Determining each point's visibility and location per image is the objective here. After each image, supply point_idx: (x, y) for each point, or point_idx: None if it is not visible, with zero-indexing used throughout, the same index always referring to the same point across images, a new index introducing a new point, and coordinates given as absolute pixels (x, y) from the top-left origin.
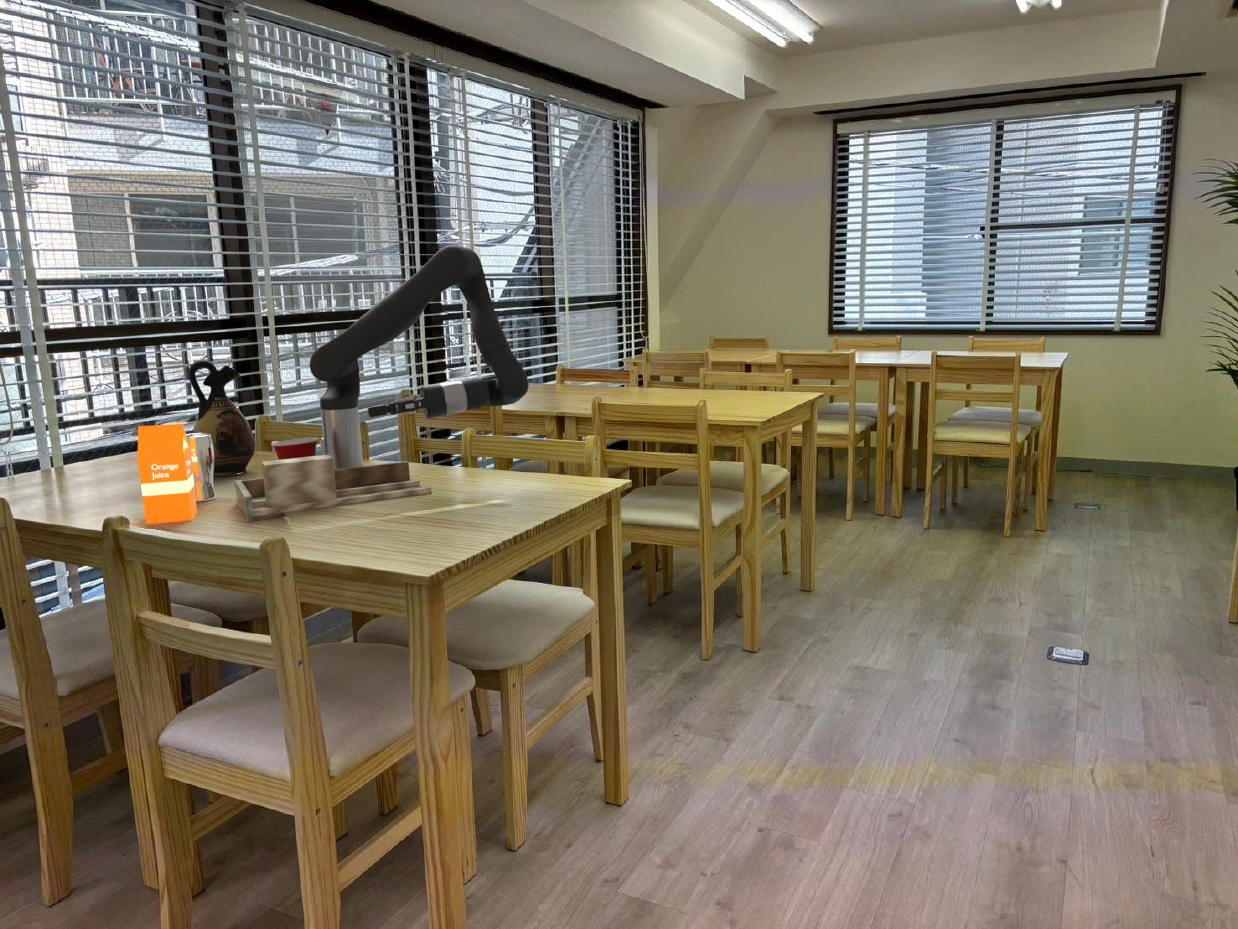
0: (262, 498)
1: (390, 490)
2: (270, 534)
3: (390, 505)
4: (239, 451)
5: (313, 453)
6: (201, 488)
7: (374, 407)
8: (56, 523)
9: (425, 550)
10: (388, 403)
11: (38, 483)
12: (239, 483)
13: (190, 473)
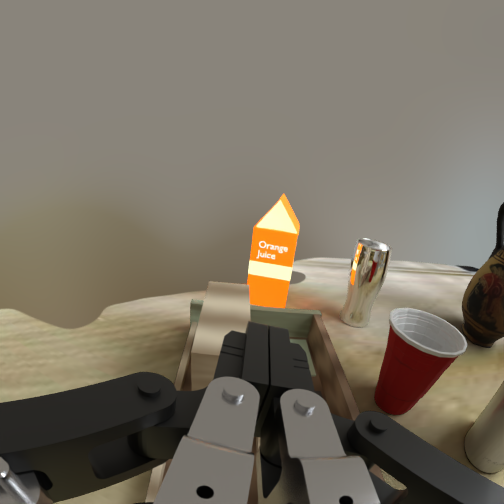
0: None
1: None
2: (106, 323)
3: (114, 491)
4: (481, 317)
5: (416, 371)
6: (345, 304)
7: (246, 340)
8: (296, 261)
9: None
10: (224, 393)
11: (432, 268)
12: (296, 310)
13: (279, 262)
